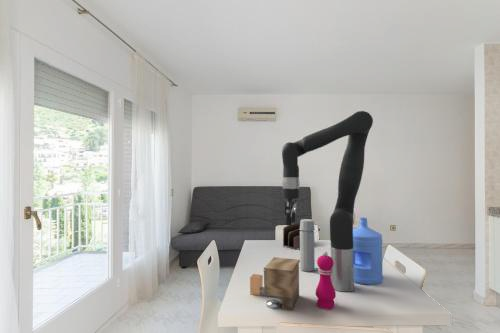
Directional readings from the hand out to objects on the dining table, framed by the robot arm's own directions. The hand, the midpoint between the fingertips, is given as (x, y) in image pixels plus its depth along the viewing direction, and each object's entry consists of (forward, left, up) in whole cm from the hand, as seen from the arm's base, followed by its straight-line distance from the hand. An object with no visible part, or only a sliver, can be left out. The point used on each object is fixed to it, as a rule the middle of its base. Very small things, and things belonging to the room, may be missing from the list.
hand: (290, 223), depth 137 cm
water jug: (-31, -15, -27) cm, 43 cm away
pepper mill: (-17, +19, -27) cm, 37 cm away
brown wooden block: (-1, +20, -26) cm, 33 cm away
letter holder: (+9, -68, -27) cm, 74 cm away
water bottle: (-4, -21, -27) cm, 34 cm away
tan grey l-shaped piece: (+6, +16, -26) cm, 31 cm away
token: (+2, +25, -27) cm, 36 cm away
